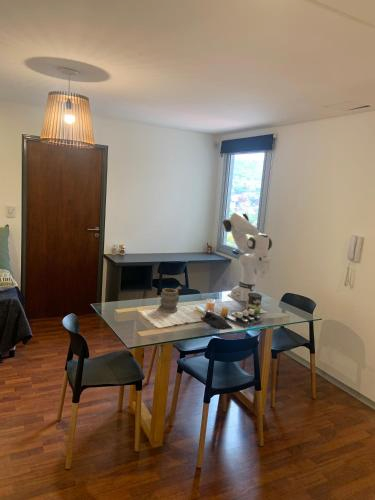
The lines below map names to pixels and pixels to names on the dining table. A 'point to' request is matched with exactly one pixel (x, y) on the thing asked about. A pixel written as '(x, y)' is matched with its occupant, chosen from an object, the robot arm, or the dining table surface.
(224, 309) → the lockout cap
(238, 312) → the toggle left
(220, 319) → the dark slate chunk
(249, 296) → the coffee can
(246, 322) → the breaker panel
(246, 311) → the toggle tagged
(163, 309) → the tankard
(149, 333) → the dining table surface
